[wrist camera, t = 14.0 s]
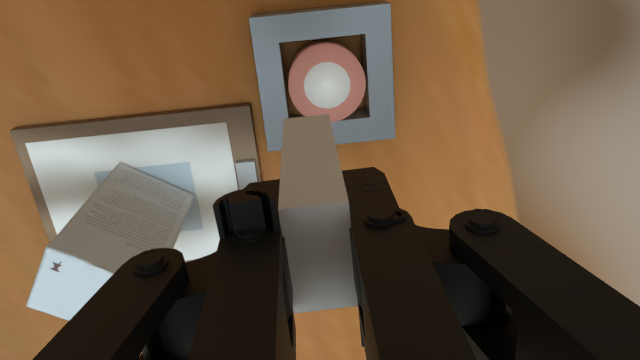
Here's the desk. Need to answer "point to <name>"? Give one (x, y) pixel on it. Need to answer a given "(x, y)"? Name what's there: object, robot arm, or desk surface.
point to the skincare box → (107, 238)
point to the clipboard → (143, 162)
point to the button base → (325, 24)
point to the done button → (326, 80)
